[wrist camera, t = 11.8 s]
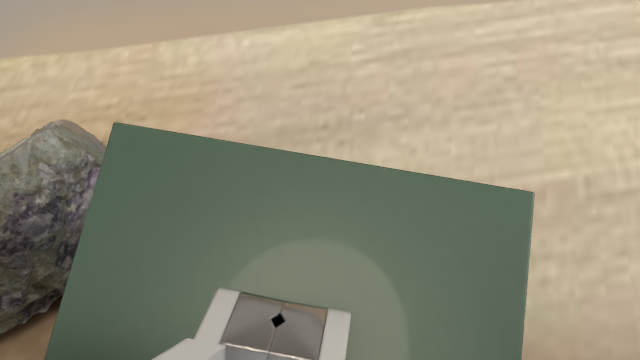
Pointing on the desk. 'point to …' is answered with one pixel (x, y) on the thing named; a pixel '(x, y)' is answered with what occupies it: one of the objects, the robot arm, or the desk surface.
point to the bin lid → (292, 250)
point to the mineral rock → (43, 215)
